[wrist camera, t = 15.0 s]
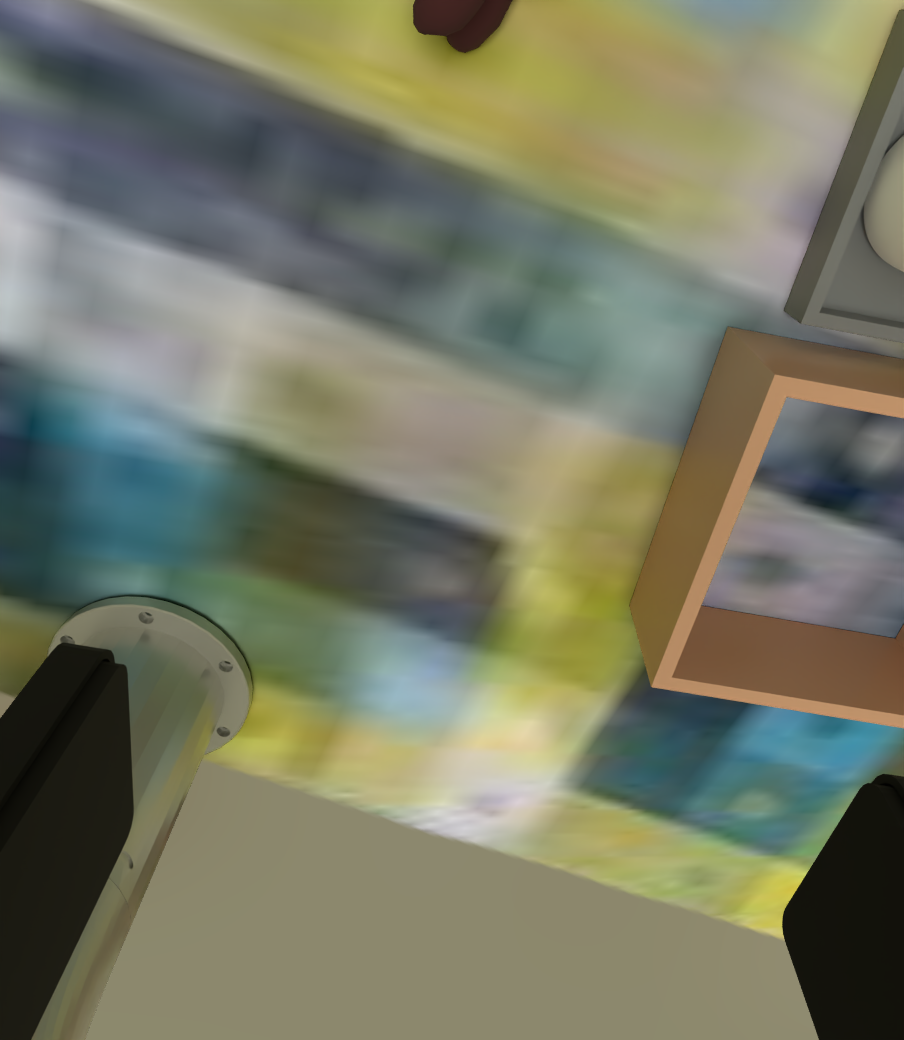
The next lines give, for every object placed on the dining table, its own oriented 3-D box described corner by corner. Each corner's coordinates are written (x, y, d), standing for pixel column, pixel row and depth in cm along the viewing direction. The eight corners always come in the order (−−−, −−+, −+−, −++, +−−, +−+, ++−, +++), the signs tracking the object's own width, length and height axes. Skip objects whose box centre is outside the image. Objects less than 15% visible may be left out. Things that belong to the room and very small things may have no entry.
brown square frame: (902, 651, 46) (965, 738, 40) (629, 605, 45) (651, 686, 39) (1057, 388, 38) (1166, 447, 32) (727, 326, 37) (774, 374, 31)
